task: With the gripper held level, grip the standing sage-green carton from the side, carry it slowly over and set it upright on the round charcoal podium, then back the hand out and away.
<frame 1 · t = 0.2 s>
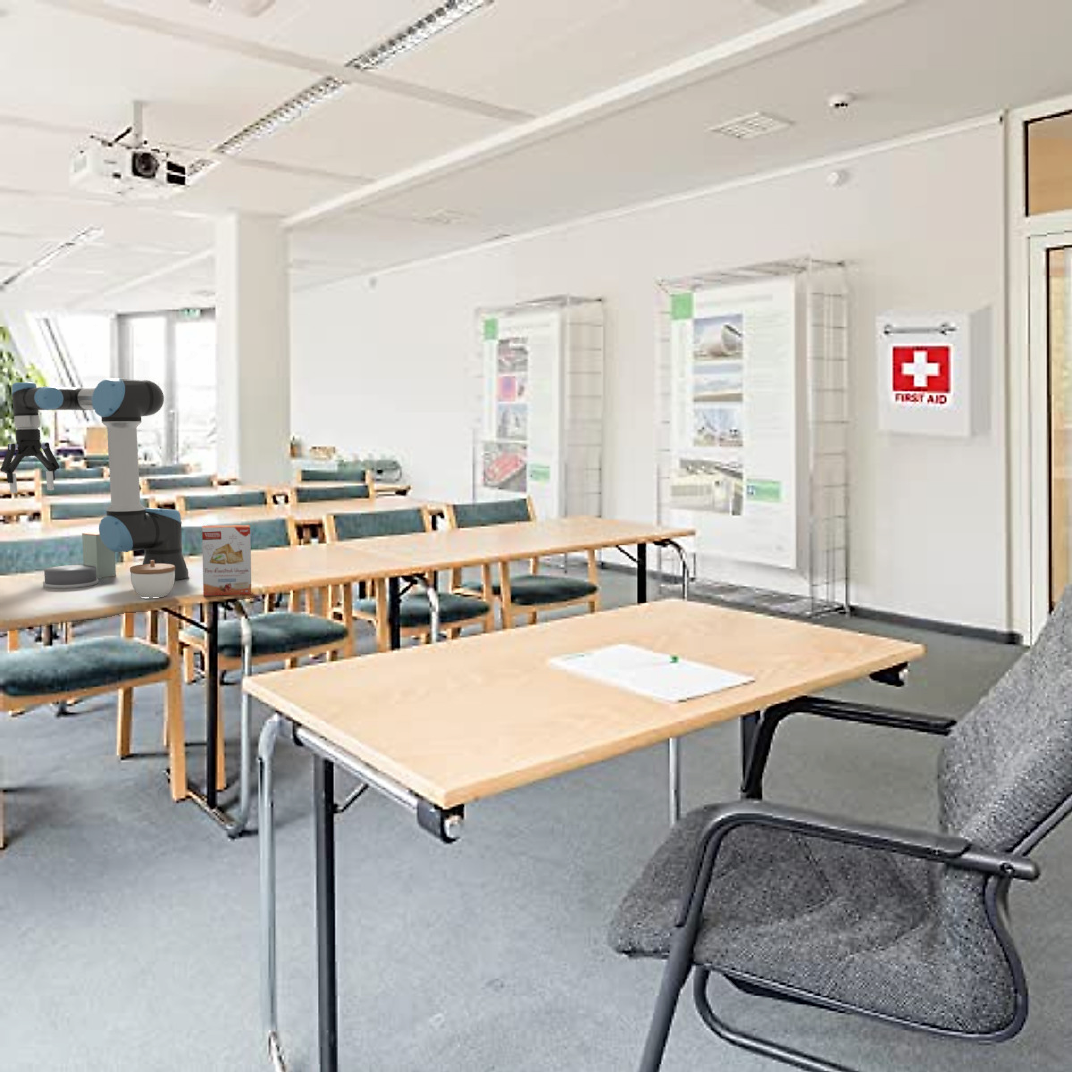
hand: (32, 491, 355), 27 cm above the table, tool pointing down, fingers open, 13 cm apart
cracker box: (227, 594, 316), on the table
carton: (100, 575, 349), on the table
podium: (70, 584, 332), on the table
lidded bowl: (153, 597, 311), on the table
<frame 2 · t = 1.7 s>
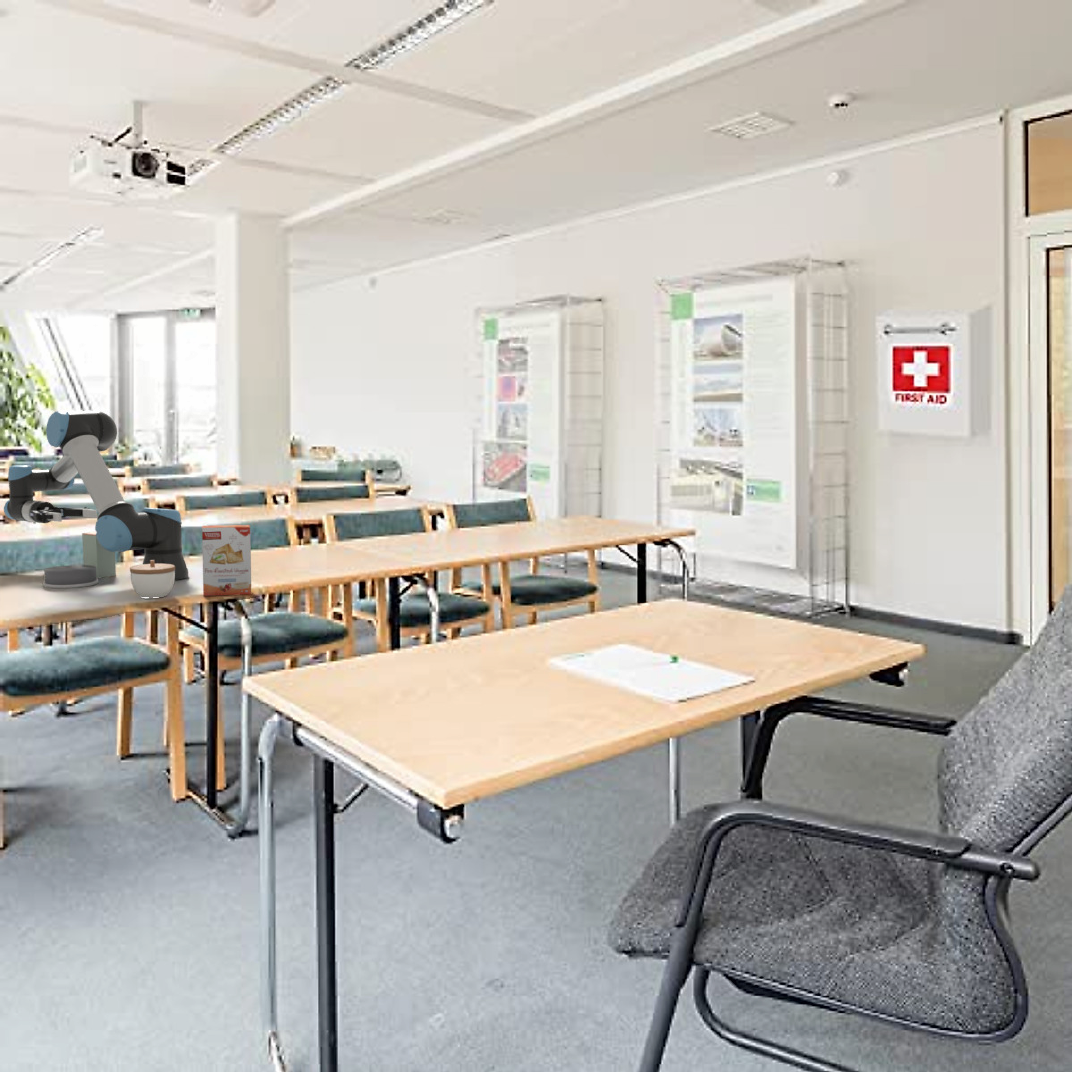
hand: (78, 515, 352), 20 cm above the table, tool horizontal, fingers open, 13 cm apart
nothing on the table moved.
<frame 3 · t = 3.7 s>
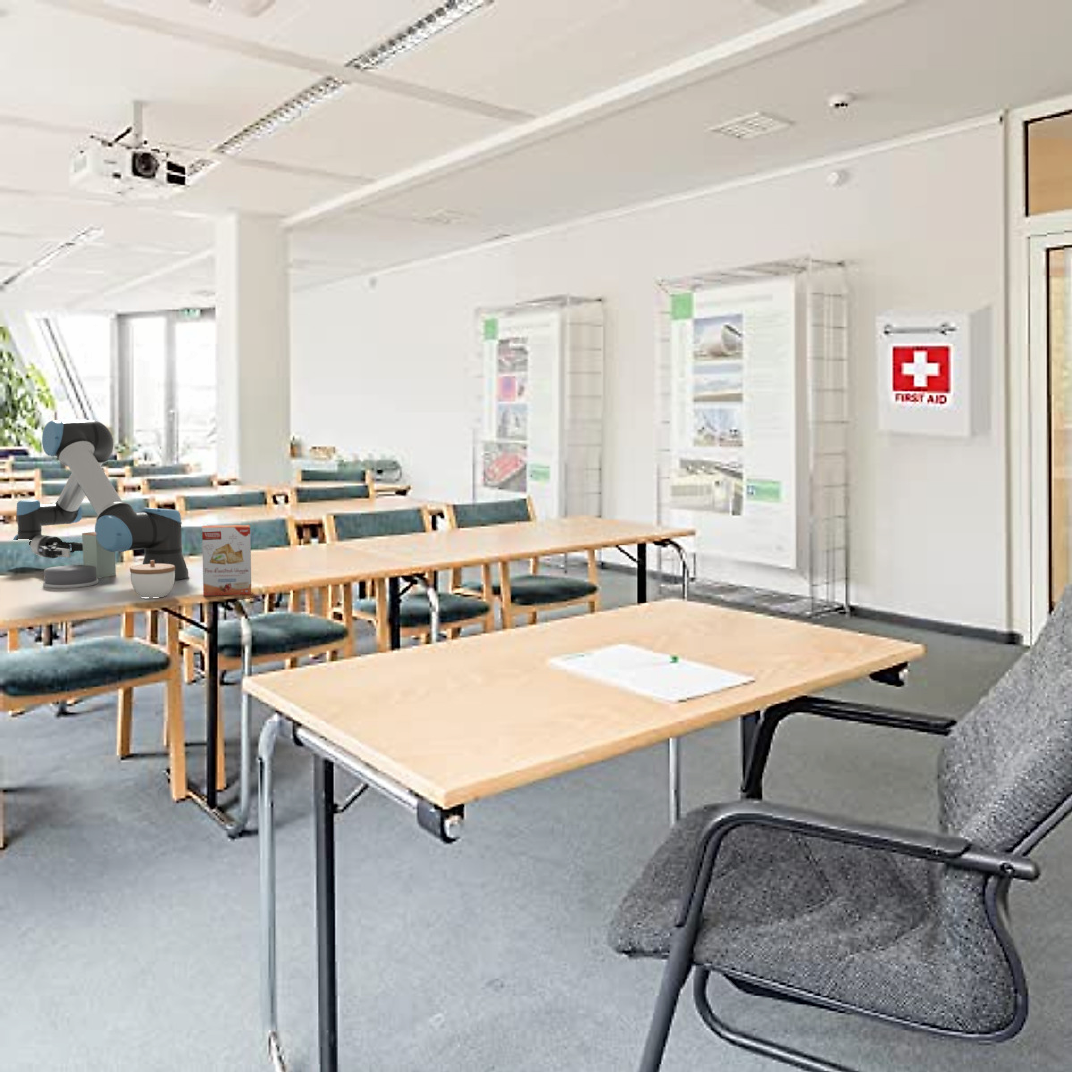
hand: (87, 551, 351), 8 cm above the table, tool horizontal, fingers open, 13 cm apart
nothing on the table moved.
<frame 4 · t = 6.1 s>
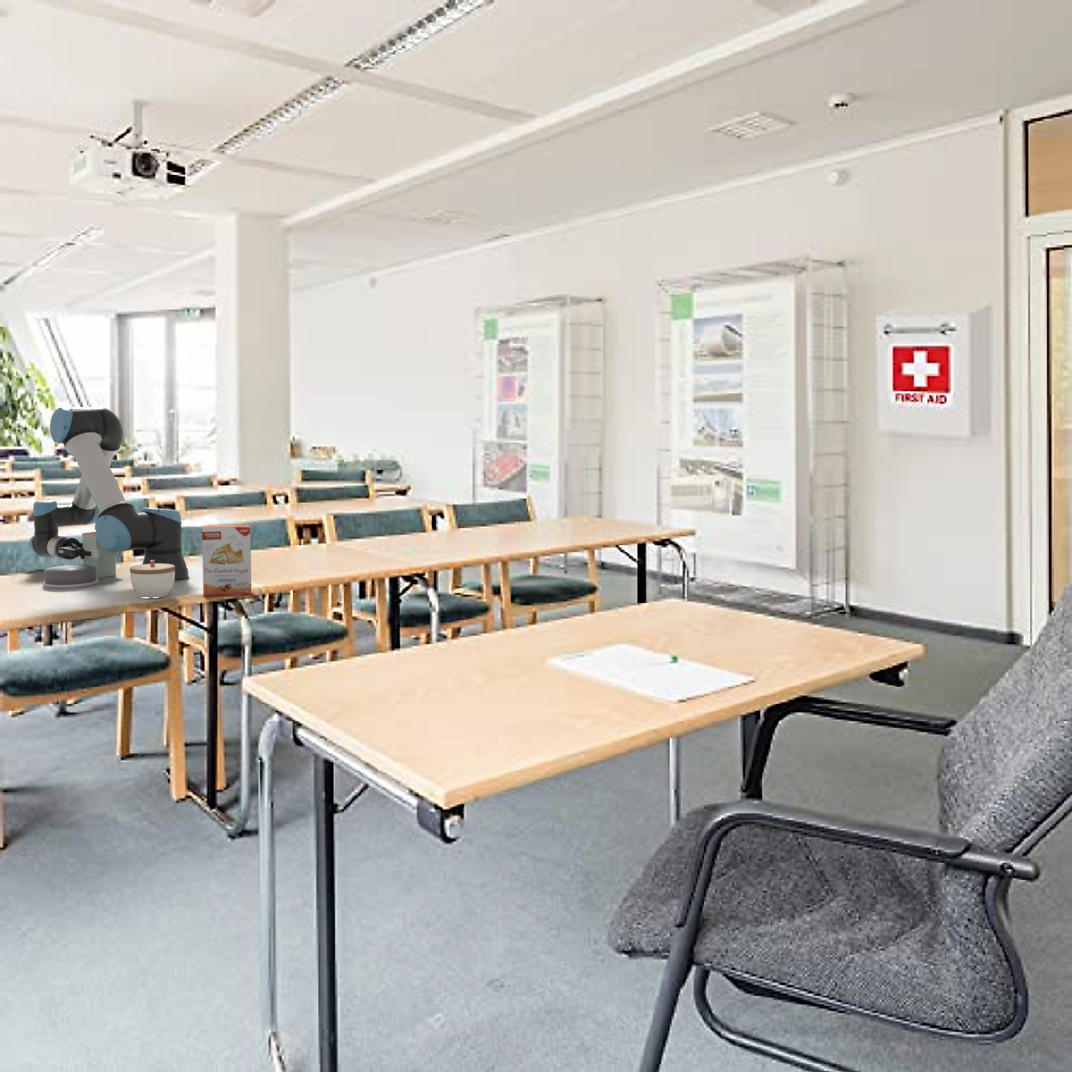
hand: (108, 552, 346), 8 cm above the table, tool horizontal, fingers closed on carton, 7 cm apart
carton: (100, 575, 349), on the table, touching gripper
everything else where it was.
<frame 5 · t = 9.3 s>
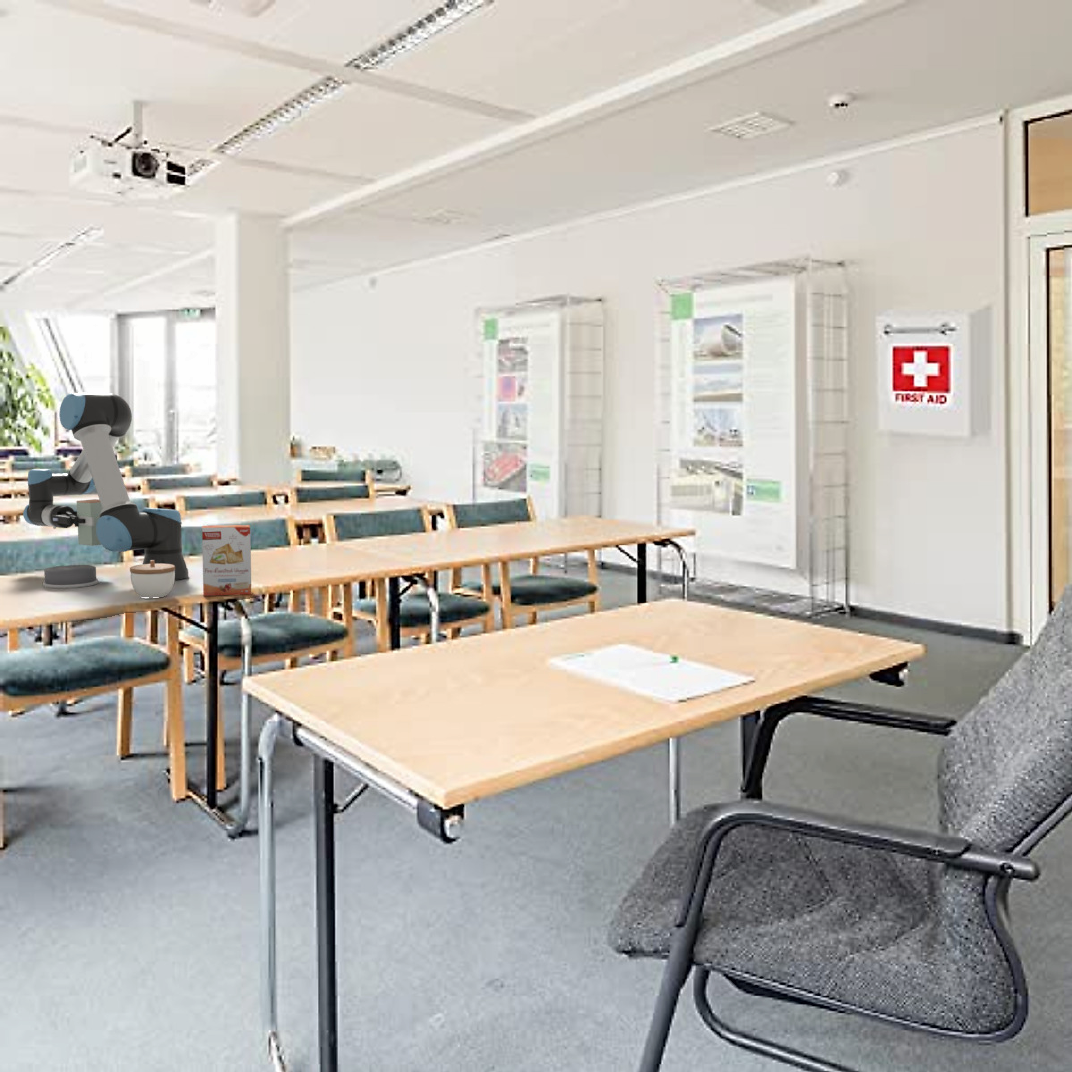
hand: (103, 520, 343), 19 cm above the table, tool horizontal, fingers closed on carton, 7 cm apart
carton: (94, 543, 346), point 11 cm above the table, touching gripper
everything else where it was.
when the fingers open (14 cm above the table, at t = 13.0 s): carton drops 1 cm, resting on podium.
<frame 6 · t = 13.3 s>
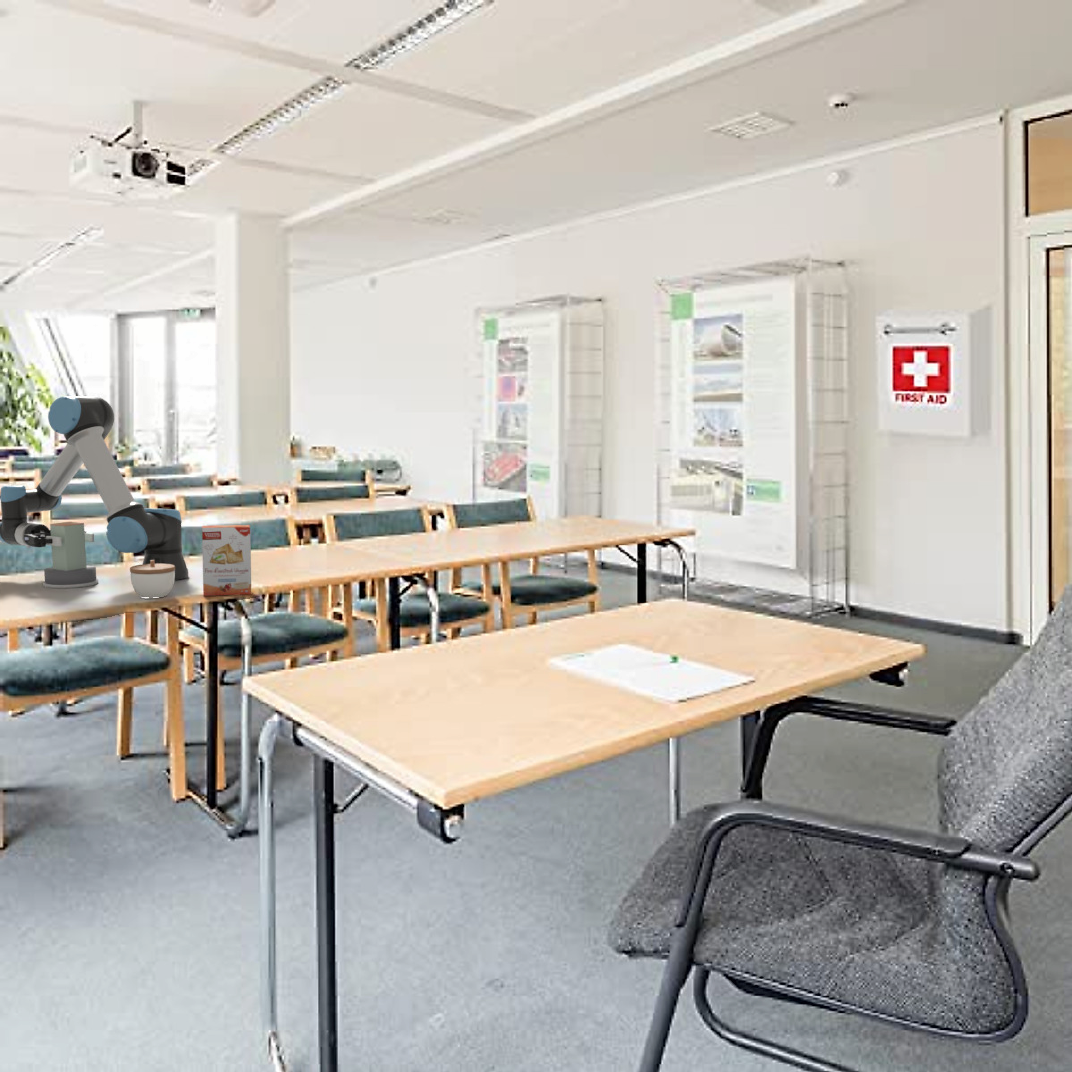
hand: (76, 539, 328), 14 cm above the table, tool horizontal, fingers open, 11 cm apart
carton: (69, 568, 331), point 5 cm above the table, touching podium
everything else where it was.
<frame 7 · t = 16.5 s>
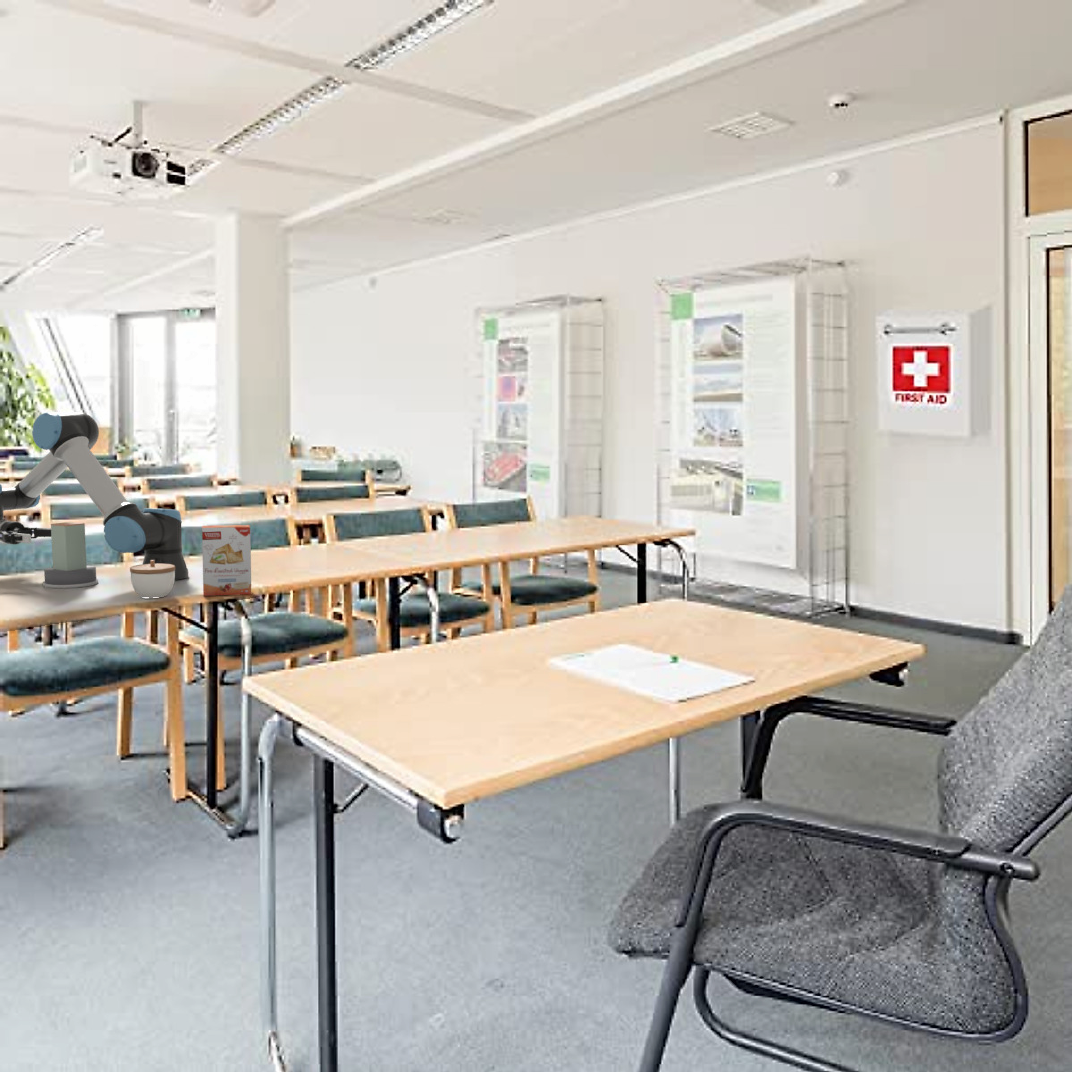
hand: (49, 536, 335), 15 cm above the table, tool horizontal, fingers open, 13 cm apart
nothing on the table moved.
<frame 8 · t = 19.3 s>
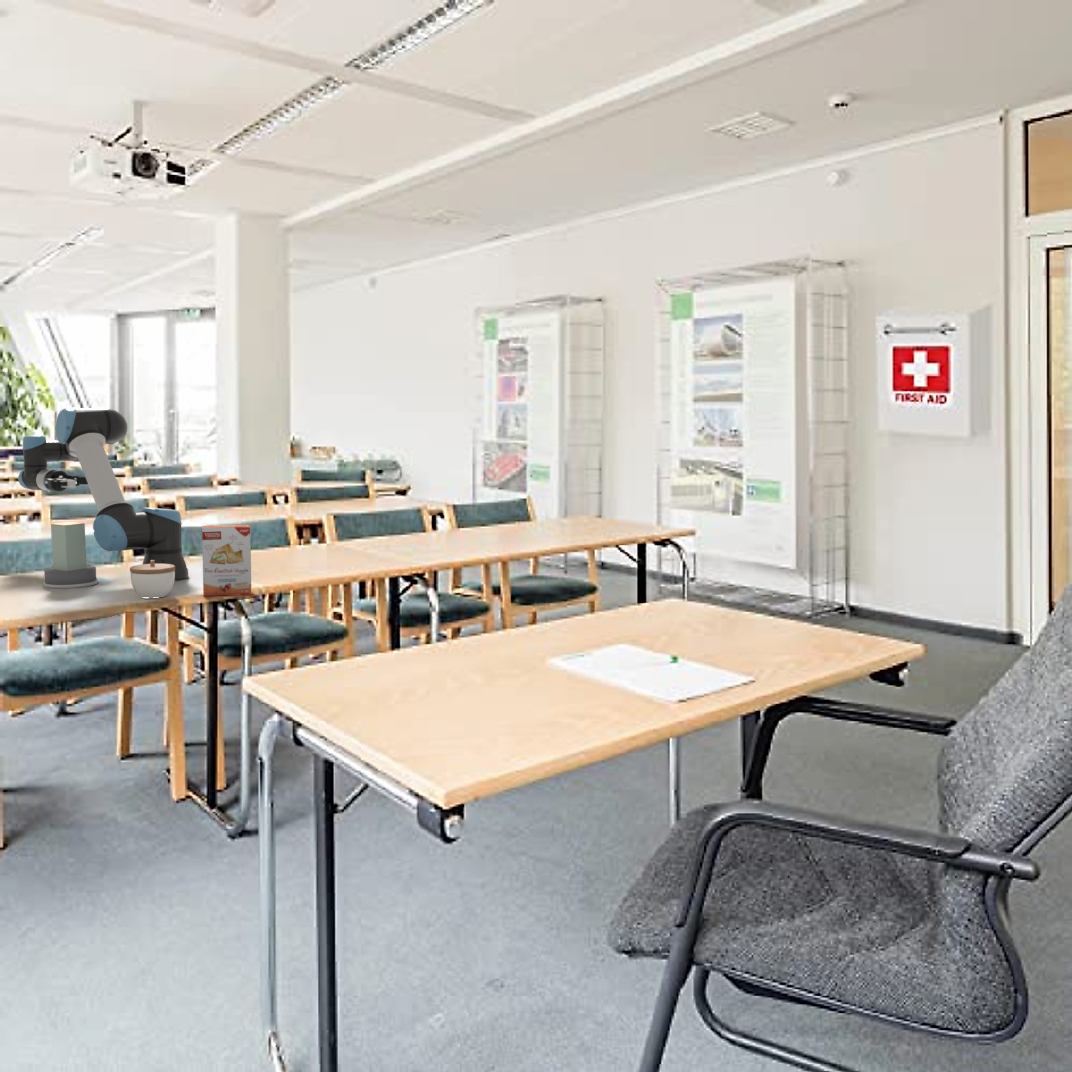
hand: (92, 483, 359), 30 cm above the table, tool horizontal, fingers open, 13 cm apart
nothing on the table moved.
at the end: carton inside the target area on the podium (0.1 cm from its centre), point 5.0 cm above the podium's base; carton tilted 0°; the gripper is holding nothing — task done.
